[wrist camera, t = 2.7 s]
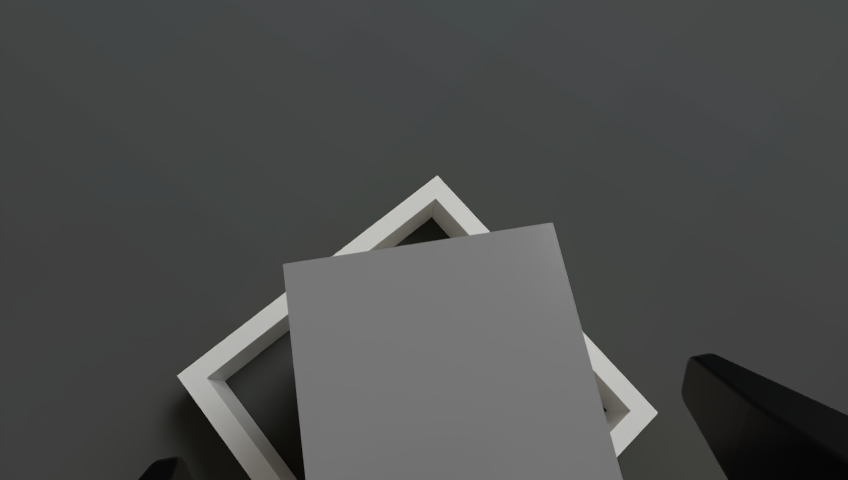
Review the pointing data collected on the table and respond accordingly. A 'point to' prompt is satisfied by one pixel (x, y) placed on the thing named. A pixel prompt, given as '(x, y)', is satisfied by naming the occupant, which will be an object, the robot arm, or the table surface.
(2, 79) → the table surface
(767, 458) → the robot arm
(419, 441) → the cream grey rectangular block
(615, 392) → the square frame
